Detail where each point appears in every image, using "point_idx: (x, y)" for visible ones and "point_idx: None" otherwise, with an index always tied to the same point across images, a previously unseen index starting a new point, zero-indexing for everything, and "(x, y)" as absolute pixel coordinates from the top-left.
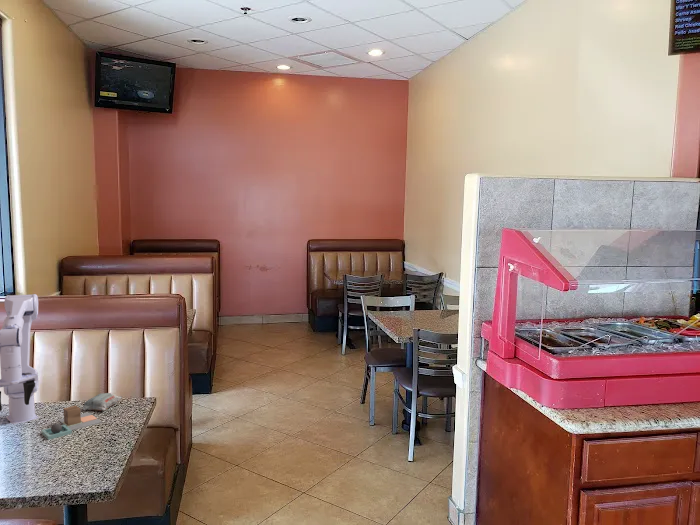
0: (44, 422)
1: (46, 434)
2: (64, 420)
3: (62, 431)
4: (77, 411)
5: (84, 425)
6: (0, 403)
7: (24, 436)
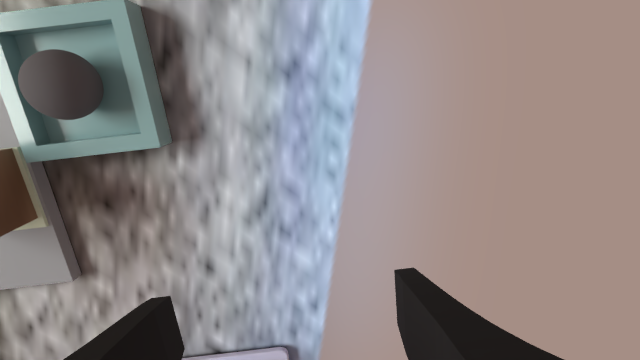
0: None
1: (133, 49)
2: (23, 216)
3: None
4: None
5: None
6: (433, 306)
7: (255, 176)
